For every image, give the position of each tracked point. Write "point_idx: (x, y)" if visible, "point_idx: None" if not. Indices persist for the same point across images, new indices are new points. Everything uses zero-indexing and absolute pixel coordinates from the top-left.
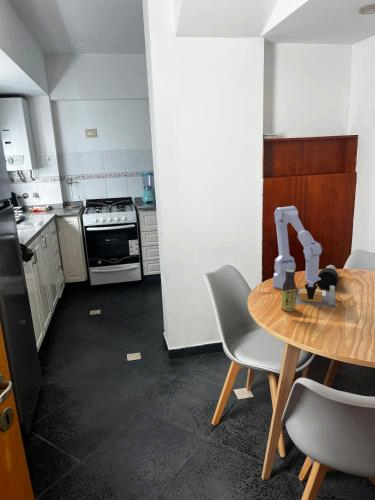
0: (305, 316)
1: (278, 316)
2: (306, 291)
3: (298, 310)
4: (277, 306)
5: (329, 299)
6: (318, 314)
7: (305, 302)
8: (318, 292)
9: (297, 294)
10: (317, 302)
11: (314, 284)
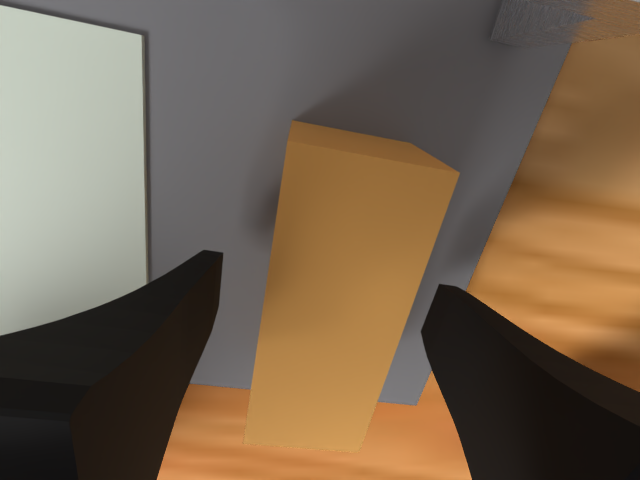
0: (627, 317)
1: None
2: (302, 386)
3: None
4: (403, 471)
5: (572, 36)
6: (622, 205)
7: None
8: (337, 223)
9: None
10: None
11: (164, 355)
